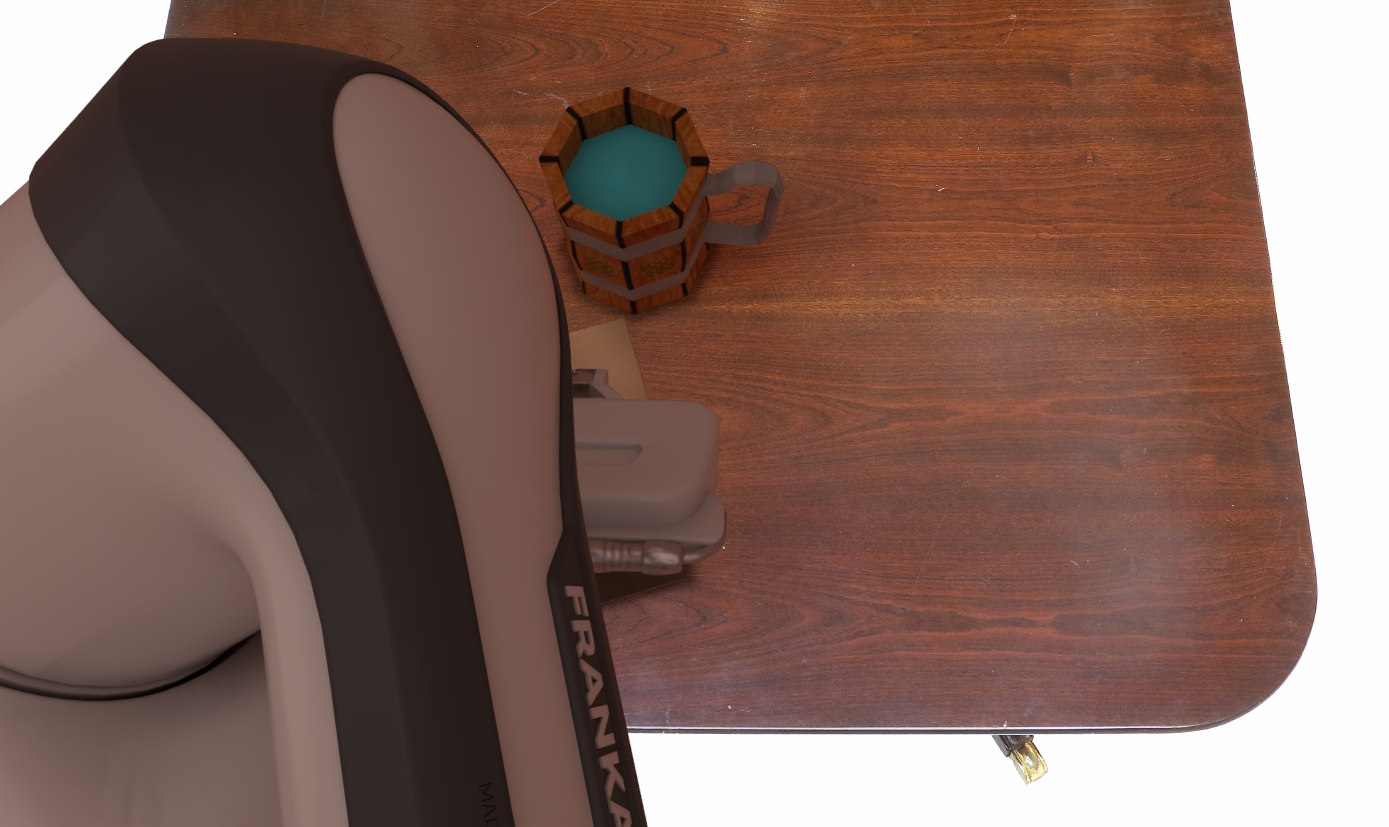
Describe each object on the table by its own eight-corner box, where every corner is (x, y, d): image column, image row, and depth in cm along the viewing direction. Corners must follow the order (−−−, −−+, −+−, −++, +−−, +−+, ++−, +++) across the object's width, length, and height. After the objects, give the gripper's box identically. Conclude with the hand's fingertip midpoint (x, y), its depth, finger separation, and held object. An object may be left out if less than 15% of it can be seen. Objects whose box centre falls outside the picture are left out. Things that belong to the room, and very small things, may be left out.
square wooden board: (461, 593, 52) (456, 591, 51) (415, 381, 56) (410, 375, 55) (685, 528, 53) (685, 525, 52) (626, 323, 56) (624, 316, 55)
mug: (561, 313, 86) (531, 236, 71) (570, 183, 90) (544, 85, 75) (775, 317, 85) (788, 240, 71) (775, 186, 89) (787, 88, 75)
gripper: (729, 490, 30) (729, 322, 42) (94, 472, 30) (278, 312, 42) (724, 643, 33) (725, 445, 45) (146, 624, 33) (303, 433, 45)
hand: (504, 380), depth 44 cm, fingers closed on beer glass, 7 cm apart
